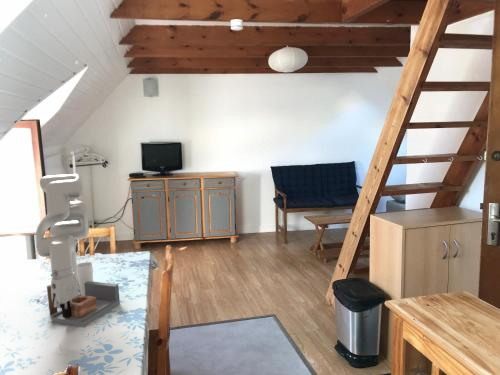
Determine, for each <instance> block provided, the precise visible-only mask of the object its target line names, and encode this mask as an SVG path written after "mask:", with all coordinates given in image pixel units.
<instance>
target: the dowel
mask: <svg viewBox="0 0 500 375" xmlns="http://www.w3.org/2000/svg"><path fill="white" fill-rule="evenodd" d="M46 290H47V302H48V308H49V310H48V311H49V315H53V314H54V313H56V312H58V311H59V310H58V308H55V307H54V303H53V302H52V298H51V284H48V285H46Z"/></svg>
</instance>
